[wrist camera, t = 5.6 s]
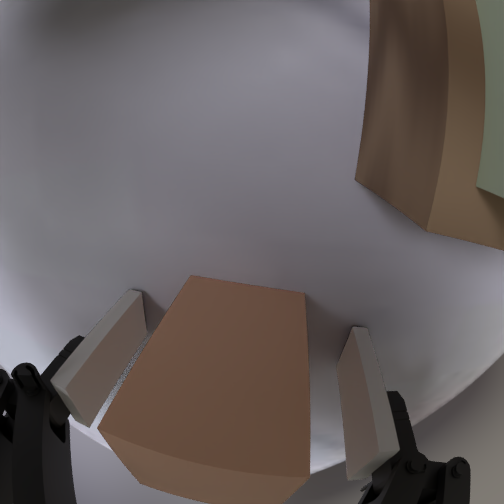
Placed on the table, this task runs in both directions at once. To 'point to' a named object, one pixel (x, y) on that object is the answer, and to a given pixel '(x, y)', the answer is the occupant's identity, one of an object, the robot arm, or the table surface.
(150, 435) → the terracotta block
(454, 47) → the tower base
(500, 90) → the tower mid
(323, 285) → the table surface
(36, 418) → the robot arm
